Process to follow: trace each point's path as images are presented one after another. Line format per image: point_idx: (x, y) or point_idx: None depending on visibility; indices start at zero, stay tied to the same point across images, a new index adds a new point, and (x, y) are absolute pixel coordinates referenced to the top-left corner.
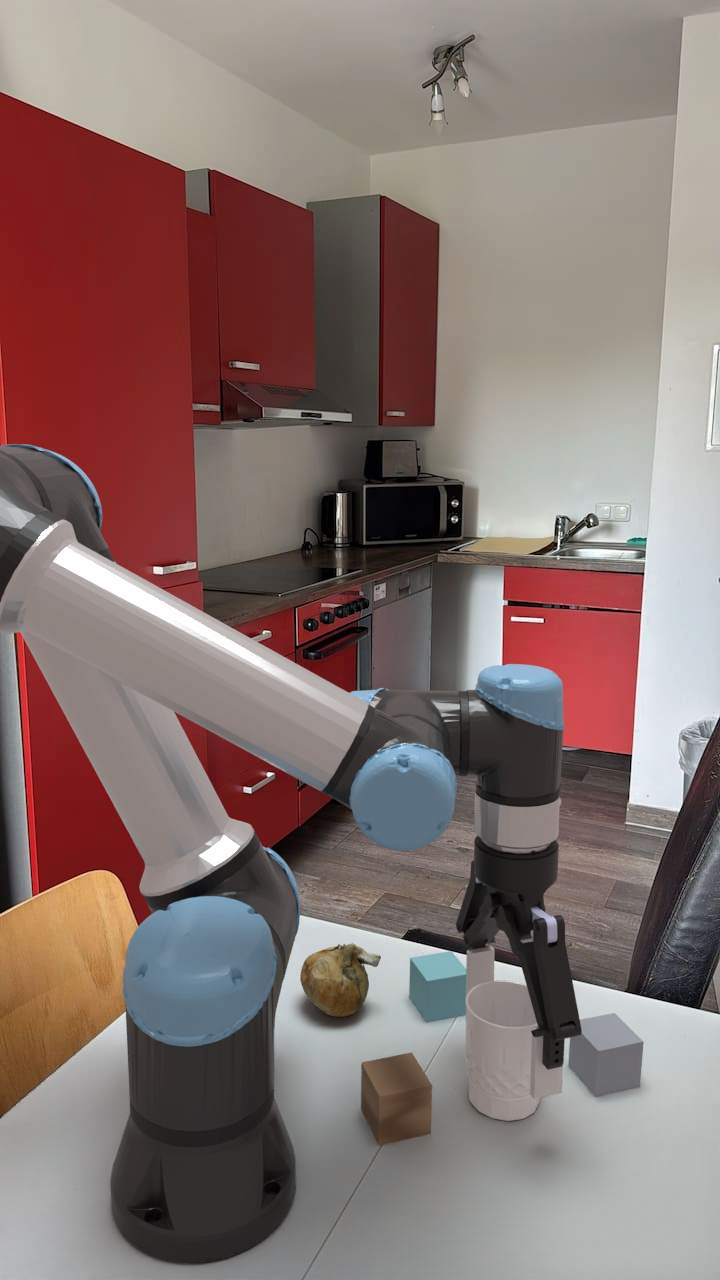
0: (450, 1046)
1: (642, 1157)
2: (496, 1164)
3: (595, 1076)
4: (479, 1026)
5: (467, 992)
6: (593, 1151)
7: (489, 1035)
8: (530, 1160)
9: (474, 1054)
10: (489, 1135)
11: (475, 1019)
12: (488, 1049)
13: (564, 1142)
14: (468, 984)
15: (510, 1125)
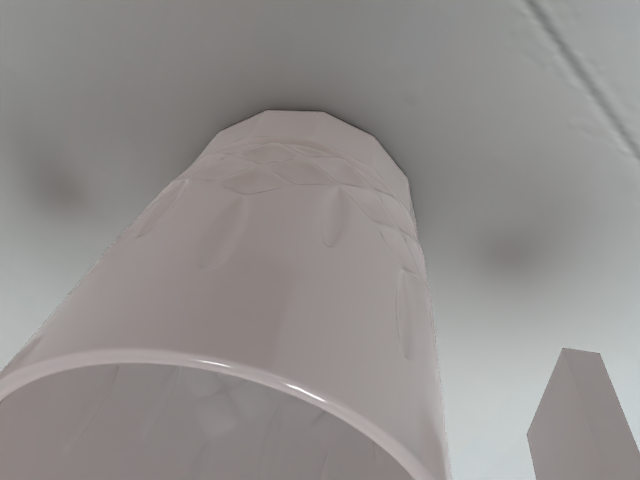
0: (625, 211)
1: (6, 357)
2: (22, 27)
3: None
4: (105, 317)
5: (612, 430)
6: (38, 288)
7: (60, 318)
8: (27, 133)
9: (215, 202)
10: (152, 80)
11: (125, 334)
12: (110, 263)
13: (80, 251)
14: (616, 477)
15: (178, 165)
